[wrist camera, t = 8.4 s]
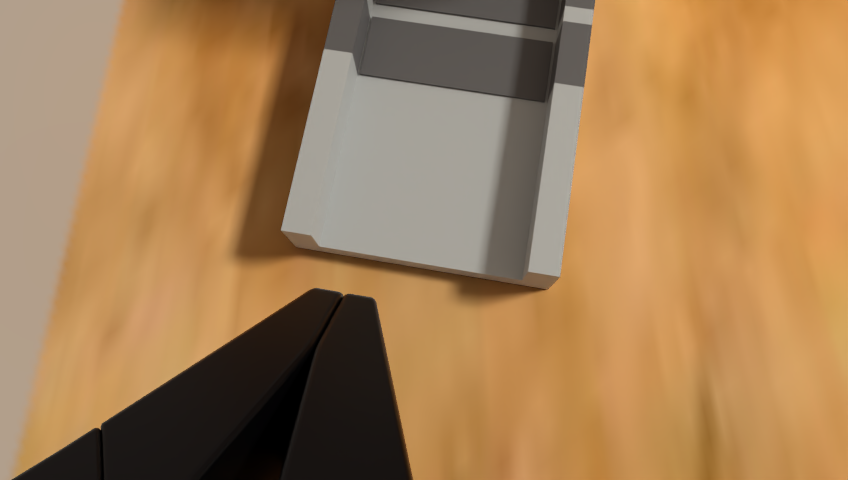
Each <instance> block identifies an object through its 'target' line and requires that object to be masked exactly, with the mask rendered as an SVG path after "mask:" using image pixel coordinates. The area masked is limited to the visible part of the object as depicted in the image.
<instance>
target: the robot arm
mask: <svg viewBox="0 0 848 480" xmlns="http://www.w3.org/2000/svg"><path fill="white" fill-rule="evenodd" d="M12 480H413V477H412V473H411V468H410V463H409V458H408V453H407V449H406V444H405V439H404V434H403V429H402V425H401V420H400V415H399V410H398V405H397V401H396V396H395V391H394V386H393V381H392V377H391V372H390V367H389V362H388V357H387V353H386V348H385V343H384V338H383V333H382V329H381V324H380V319H379V314H378V309H377V304H376V301H375V299H373V298H371V297H366V296H360V295H354V294H347V295H345V296H344V297H343V295H342V294H341V293H340V292H336V291H331V290H325V289H319V288H314V289H311V290H309V291H307V292H306V293H304V294H303V295H301V296H300V297H298V298H297V299H295V300H293V301H292V302H290V303H289V304H287V305H286V306H284V307H283V308H281V309H279V310H278V311H276V312H275V313H273V314H272V315H270V316H269V317H267V318H265V319H264V320H262V321H261V322H259V323H258V324H256V325H255V326H253V327H251V328H250V329H248V330H247V331H245V332H244V333H242V334H241V335H239V336H237V337H236V338H234V339H233V340H231V341H230V342H228V343H227V344H225V345H223V346H222V347H220V348H219V349H217V350H216V351H214V352H213V353H211V354H209V355H208V356H206V357H205V358H203V359H202V360H200V361H199V362H197V363H195V364H194V365H192V366H191V367H189V368H188V369H186V370H185V371H183V372H181V373H180V374H178V375H177V376H175V377H174V378H172V379H171V380H169V381H167V382H166V383H164V384H163V385H161V386H160V387H158V388H157V389H155V390H153V391H152V392H150V393H149V394H147V395H146V396H144V397H143V398H141V399H139V400H138V401H136V402H135V403H133V404H132V405H130V406H129V407H127V408H125V409H124V410H122V411H121V412H119V413H118V414H116V415H115V416H113V417H111V418H110V419H108V420H107V421H105V422H104V423H102V425H101V430H100V429H99V428H94V429H92V430H91V431H89V432H88V433H86V434H85V435H83V436H81V437H80V438H78V439H77V440H75V441H74V442H72V443H71V444H69V445H67V446H66V447H64V448H63V449H61V450H59V451H58V452H56V453H55V454H53V455H51V456H50V457H48V458H46V459H45V460H43V461H41V462H40V463H38V464H37V465H35V466H33V467H32V468H30V469H28V470H27V471H25V472H24V473H22V474H20V475H19V476H17V477H15V478H14V479H12Z"/></svg>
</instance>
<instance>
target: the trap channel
mask: <svg viewBox="0 0 848 480" xmlns="http://www.w3.org/2000/svg"><path fill="white" fill-rule="evenodd" d="M594 5H595V0H335V5H334V9H333V13H332V17H331V21H330V26H329V30H328V34H327V38H326V42H325V47H324V51H323V55H322V59H321V63H320V68H319V72H318V76H317V80H316V84H315V89H314V93H313V97H312V101H311V105H310V110H309V114H308V118H307V122H306V126H305V131H304V135H303V139H302V143H301V147H300V152H299V156H298V160H297V164H296V168H295V173H294V177H293V181H292V185H291V189H290V194H289V198H288V202H287V206H286V210H285V215H284V219H283V223H282V227H281V231H282V232H283V233H284V234H285V236H286V237H287V238H288V239H289V240H290V241H291V242H292V243H293V244H294V245H295V246H296V247H298V248H304V249H310V250H316V251H322V252H328V253H334V254H340V255H346V256H352V257H358V258H364V259H370V260H376V261H382V262H388V263H393V264H399V265H405V266H411V267H417V268H423V269H429V270H435V271H441V272H447V273H453V274H459V275H465V276H471V277H477V278H483V279H488V280H494V281H500V282H506V283H512V284H518V285H524V286H530V287H536V288H542V289H549V288H550V287H551V286H552V285H553V284H554V283H555V282H556V280H557V279H558V278H559V277H560V272H561V265H562V257H563V249H564V241H565V233H566V225H567V217H568V209H569V202H570V194H571V186H572V178H573V170H574V162H575V154H576V146H577V139H578V131H579V123H580V115H581V107H582V99H583V91H584V83H585V76H586V68H587V60H588V52H589V44H590V36H591V28H592V21H593V13H594Z"/></svg>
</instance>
